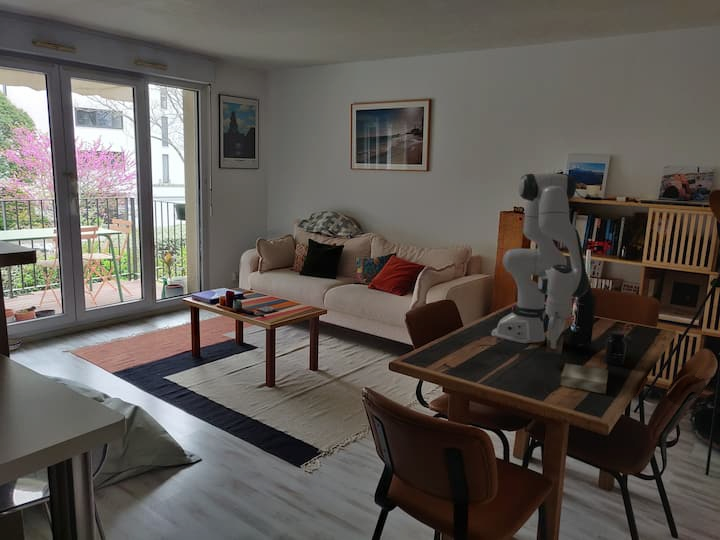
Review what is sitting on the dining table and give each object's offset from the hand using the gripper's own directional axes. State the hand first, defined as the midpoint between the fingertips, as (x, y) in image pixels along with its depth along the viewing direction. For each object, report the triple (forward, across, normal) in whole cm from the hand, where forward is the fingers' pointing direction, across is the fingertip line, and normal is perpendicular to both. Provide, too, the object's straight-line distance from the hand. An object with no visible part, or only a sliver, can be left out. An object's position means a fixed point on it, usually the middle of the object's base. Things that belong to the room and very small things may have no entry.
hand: (554, 345), depth 203 cm
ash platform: (+8, -13, -12) cm, 19 cm away
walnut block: (+2, 0, 0) cm, 2 cm away
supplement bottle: (+8, +15, -20) cm, 27 cm away
